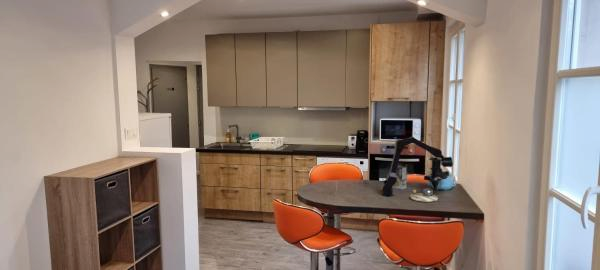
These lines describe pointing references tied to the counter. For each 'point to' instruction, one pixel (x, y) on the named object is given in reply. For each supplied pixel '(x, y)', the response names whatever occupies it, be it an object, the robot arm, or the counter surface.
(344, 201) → the counter surface
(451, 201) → the counter surface
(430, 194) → the cover
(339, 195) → the counter surface
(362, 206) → the counter surface
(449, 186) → the decorative pot
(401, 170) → the coffee box
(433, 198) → the turntable
